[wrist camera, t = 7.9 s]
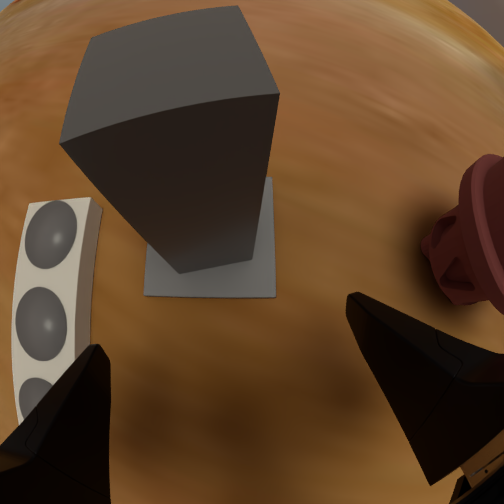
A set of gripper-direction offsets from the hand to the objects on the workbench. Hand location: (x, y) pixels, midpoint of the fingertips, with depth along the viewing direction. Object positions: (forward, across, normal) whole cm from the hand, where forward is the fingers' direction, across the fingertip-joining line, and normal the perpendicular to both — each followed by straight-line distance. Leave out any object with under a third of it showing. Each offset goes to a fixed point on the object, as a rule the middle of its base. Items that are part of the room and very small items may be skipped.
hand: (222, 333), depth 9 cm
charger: (+10, 0, 0) cm, 10 cm away
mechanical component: (+6, -17, +5) cm, 19 cm away
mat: (+10, 0, +1) cm, 10 cm away
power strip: (+5, +13, +6) cm, 15 cm away
